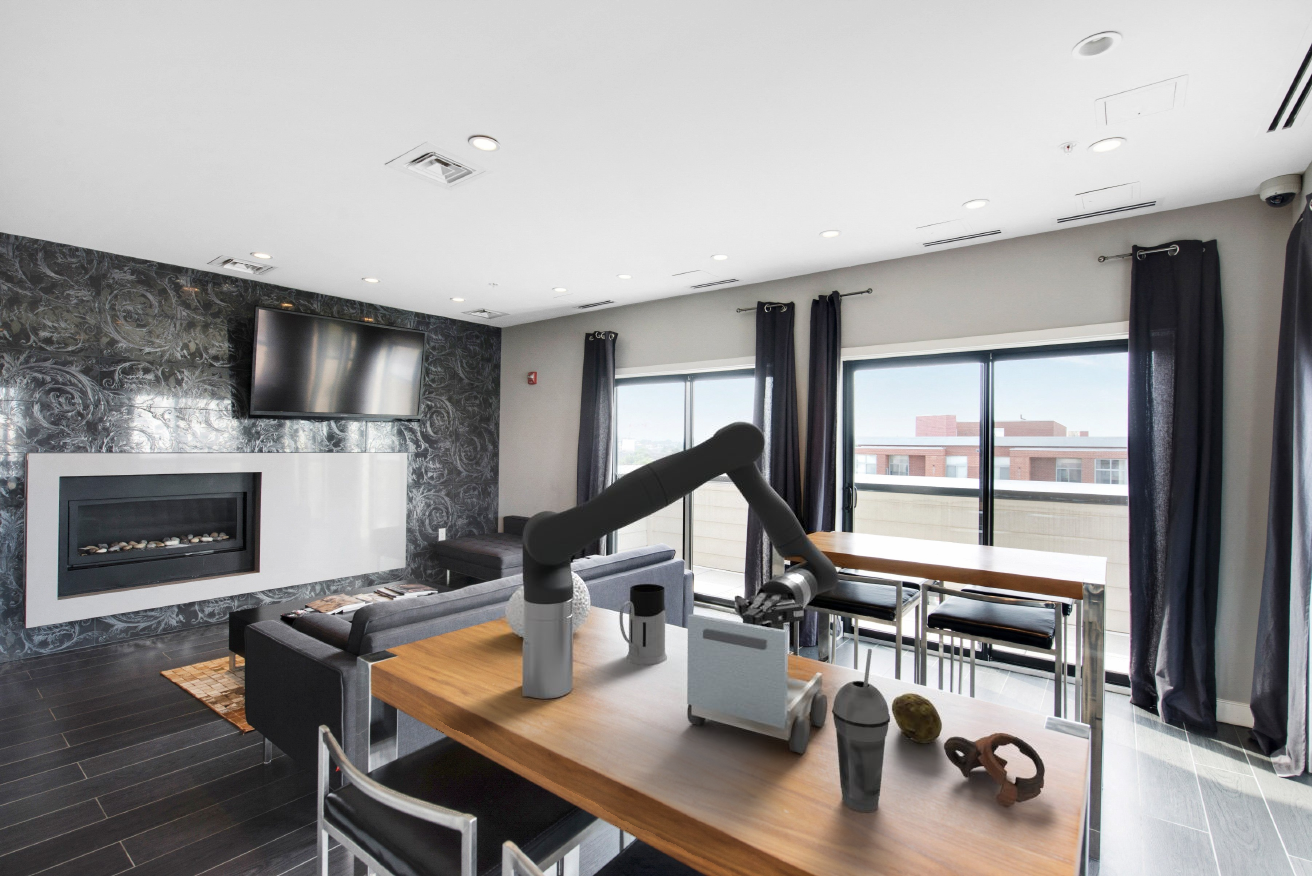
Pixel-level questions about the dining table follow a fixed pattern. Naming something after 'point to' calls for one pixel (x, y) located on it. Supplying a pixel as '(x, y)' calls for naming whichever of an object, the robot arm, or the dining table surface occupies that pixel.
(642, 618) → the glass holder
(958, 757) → the brown curved piece
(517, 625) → the cauliflower
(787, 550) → the robot arm
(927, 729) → the potato
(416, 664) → the dining table surface
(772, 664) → the panel
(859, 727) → the beverage cup
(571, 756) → the dining table surface
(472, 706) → the dining table surface
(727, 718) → the flatbed cart
